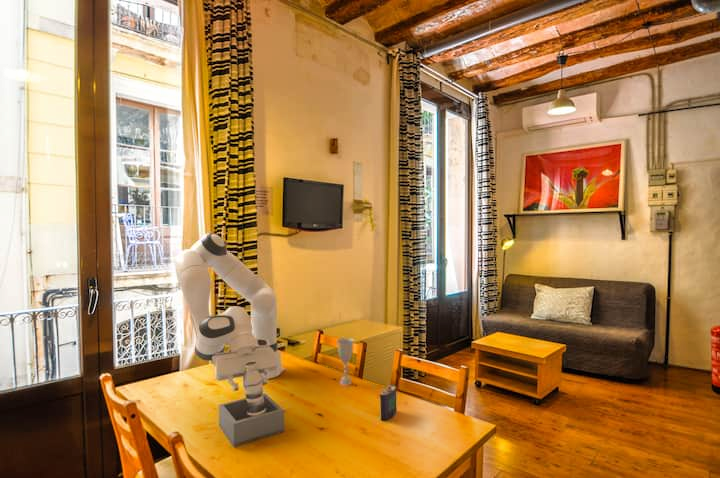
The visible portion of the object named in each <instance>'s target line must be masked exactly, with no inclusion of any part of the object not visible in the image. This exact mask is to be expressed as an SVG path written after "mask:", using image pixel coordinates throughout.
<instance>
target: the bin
mask: <svg viewBox="0 0 720 478" xmlns="http://www.w3.org/2000/svg"><path fill="white" fill-rule="evenodd" d="M263 398H264V402H265V407H266V409H267V413H264V414H261V415H257V416H253V417H250V418H247V400H246V397H245V398H241V399H237V400H231V401H229V402H225V403H221V404H218V427H219V428H220V430H221V431H222V432H223V434H224V435H225V437H226V438H227V440H228V441H229V443H230V444H231V445H232V447H233V448H237V447H240V446H243V445H246V444H249V443H252V442H255V441H258V440H261V439H264V438H265V439H266V438H269V437H271V436H274V435H277V434H278V435H279V434H281V433H283V432H285V410H284V408H283V407H281V406H280V405H279V404H278V403H277V402H276V401H274V400H273V399H272V398H271V397H270V396H269V395H267V393H264V392H263Z"/></svg>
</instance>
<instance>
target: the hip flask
mask: <svg viewBox="0 0 720 478" xmlns="http://www.w3.org/2000/svg"><path fill="white" fill-rule="evenodd" d="M386 386H387V387H386V390H384V391H381V392H380V394H379V399H380V402H379V403H380V421H381V422H388V421H389V420H391V419H393V418H394V416H395V415H396V414H397V386H394V385H390V384H387V385H386Z"/></svg>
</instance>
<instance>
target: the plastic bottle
mask: <svg viewBox="0 0 720 478" xmlns="http://www.w3.org/2000/svg"><path fill="white" fill-rule="evenodd" d="M257 368H258V367H257V362H248V363H246V364H245V371H246V373H245V375H244V377H242V379H241V380H242V381H241V383H242V387H243V390H244V395H245V398H246V400H247V418H250V417H253V416H257V415H261V414H264V413H267V409H266V407H265V402H264V398H263V394H264V385H263V377H262V375H261V373H260V372H259V371H258V370H257Z"/></svg>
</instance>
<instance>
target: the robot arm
mask: <svg viewBox="0 0 720 478" xmlns="http://www.w3.org/2000/svg"><path fill="white" fill-rule="evenodd" d="M174 266H175V268H174V269H175V272H176V273H175V274H176V277H177V281H178V283H179V286H180V289H181V292H182V294H183V296H184V299H185V301H186V305H187V307H188V309H189V313H190V317H191V321H192V324H193V328H194V333H195V337H196V342H195V347H194V352H195V355H196V357H198V358H199V359H201V360H202V361H211V362H212V364H213V365H214V375H215V376H214V377H215V380H217V381H218V382H221V381H226V380H227V383H228V384H229V385H230V386H231V387H232V391H233V392H235V391H239V383H238V382H235V381H234V380H233V379H235V378H243V377H244V375H245V373H246V371H245V364H246V363H248V362H257V367H258V368H257V370H258V371H259V372H260V373H261V375H262V377H263V386H266V385H268V384H269V379H273V378H276V377H278V376H279V375H281V374H282V373H283V372H284V371H285V367H283V366H282V358H281V357H282V355H281V353H280V351H278V350H279V349H278V348H279V345H278V344H279V343H278V339H277V315H278V314H277V312H278V310H277V309H278V305H277V303H278V302H277V296H276V293H275V291H274V289H273V288H272V287H271V286H269V285H268V284H267V283H266V282H265V281H263V280H262V279H261V277H259V276H258V275H257V274H255V272H254V271H252V269H250V268H249V267H248V266H246V265H245V263H244V262H243V261H242V260H240V259H239V258H238V257H237V256H236V255H234V254H233V253H232V252H230V251H229V250H227V245H226V242H225V240H224V239H223V238H222V237H221V236H220V235H219V234H217V233H213V232H207V233H206V234H204V235H203V236H201V238H199V240H198V241H196V242H195V243H194V244H193V245H192V246H191V247H190V249H185V250H182V251H180V252H178V254H177V255H176V257H175V260H174ZM210 268H211V269H212V271H213V272H214V273H215V274H216V275H217V276H218V277H219V278H220V279H221V280H222V281H223V282H224V283H226V285H228V286H229V287H230V288H231V289H232V290H233V291H234V292H235V293H237V294H238V295H240V296H241V297H243V298H244V299H245V300H246V301H247V302H248V303H250V316H249V313H248V312H247V310H246V309H245V308H243V307H242V306H238V305H237V306H236V305H235V306H230V307H227V308H226V309H225V310H224V311H223V312H221V313H218V314H216V315H214V314H213V315H211V314H210V298H211V293H212V292H211V290H212V279H211V274H210V271H209V270H210ZM226 344H227V345H228V350H227V351H225V349H226V348H225V347H226Z"/></svg>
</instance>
